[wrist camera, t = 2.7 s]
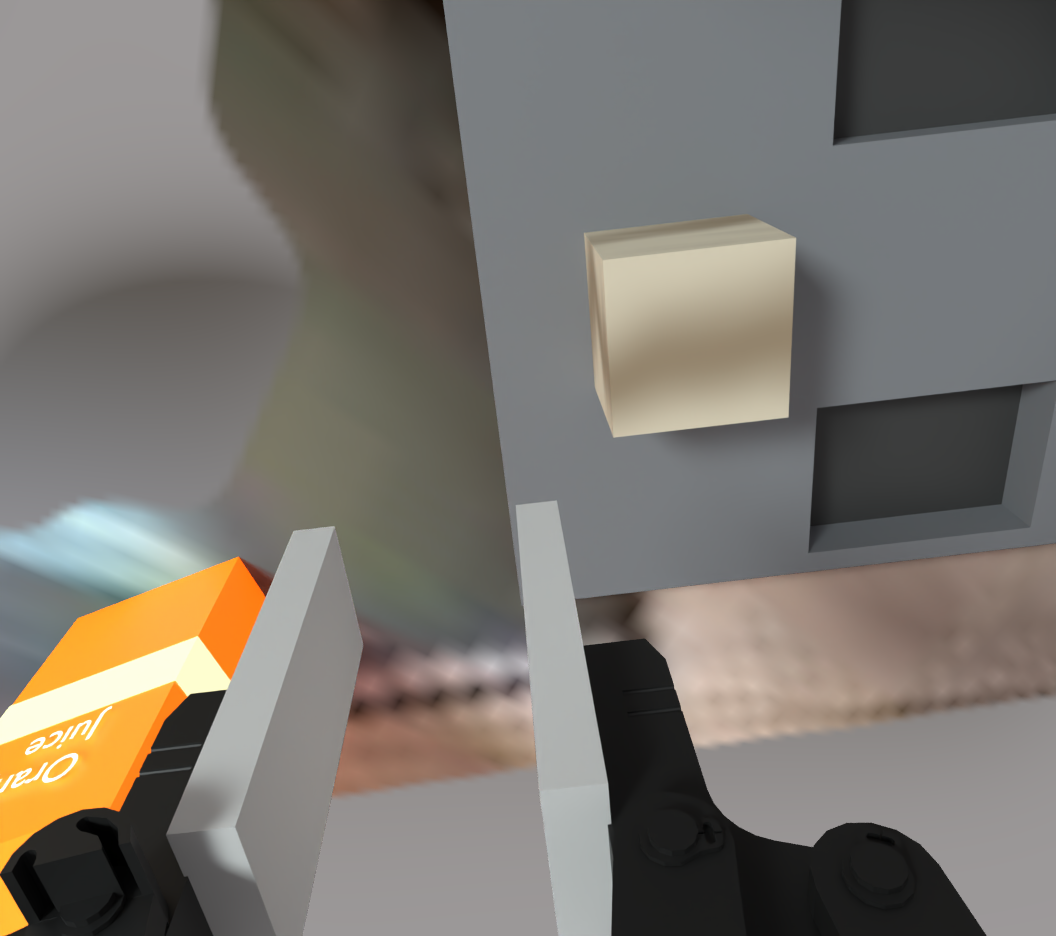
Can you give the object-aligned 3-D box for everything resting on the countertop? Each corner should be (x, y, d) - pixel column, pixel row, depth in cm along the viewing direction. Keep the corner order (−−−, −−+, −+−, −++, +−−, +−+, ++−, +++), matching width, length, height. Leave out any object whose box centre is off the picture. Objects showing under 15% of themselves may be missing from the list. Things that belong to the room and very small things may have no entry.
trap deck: (436, -70, 27) (428, -96, 23) (1492, -190, 27) (1670, -238, 23) (519, 574, 38) (523, 632, 34) (1262, 488, 38) (1354, 536, 34)
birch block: (584, 232, 29) (603, 260, 25) (747, 213, 29) (796, 237, 25) (594, 387, 32) (613, 437, 27) (744, 370, 32) (788, 417, 27)
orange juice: (318, 674, 40) (186, 1151, 22) (165, 729, 41) (-79, 1227, 23) (237, 552, 37) (6, 996, 19) (73, 615, 38) (-294, 1093, 20)
